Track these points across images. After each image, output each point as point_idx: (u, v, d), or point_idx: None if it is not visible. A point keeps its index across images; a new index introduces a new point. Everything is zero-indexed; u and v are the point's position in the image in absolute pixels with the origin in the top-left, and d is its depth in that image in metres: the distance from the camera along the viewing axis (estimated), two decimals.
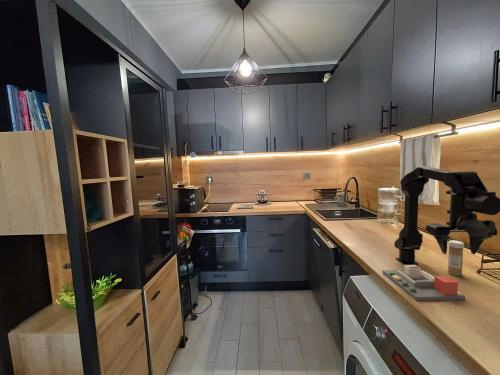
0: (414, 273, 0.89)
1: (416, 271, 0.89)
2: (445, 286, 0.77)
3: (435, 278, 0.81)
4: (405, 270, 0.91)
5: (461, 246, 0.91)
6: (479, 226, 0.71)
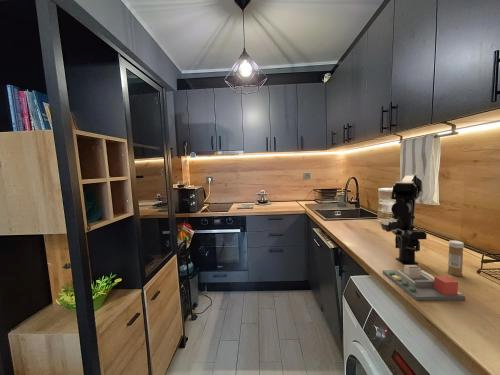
0: (414, 273, 0.89)
1: (416, 271, 0.89)
2: (445, 286, 0.77)
3: (435, 278, 0.81)
4: (405, 270, 0.91)
5: (461, 246, 0.91)
6: (384, 222, 0.95)
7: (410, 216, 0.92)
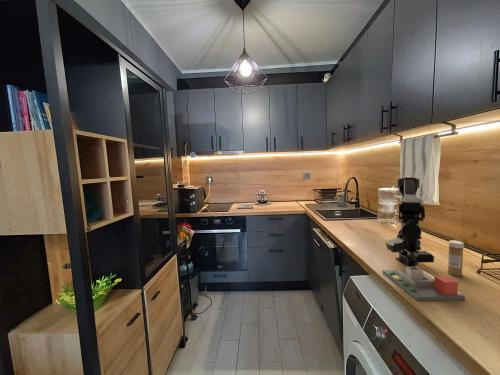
0: (416, 275, 0.88)
1: (418, 272, 0.88)
2: (445, 286, 0.77)
3: (435, 278, 0.81)
4: (407, 271, 0.90)
5: (461, 246, 0.91)
6: (389, 242, 0.92)
7: None
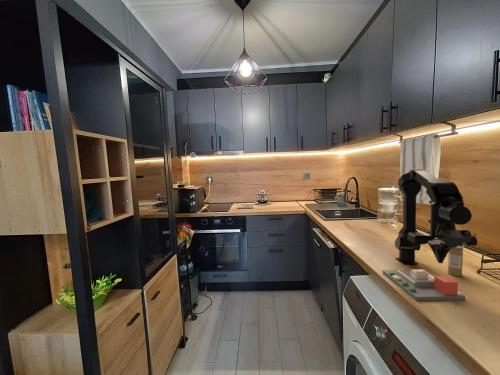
0: (422, 278, 0.85)
1: (423, 276, 0.85)
2: (445, 286, 0.77)
3: (435, 278, 0.81)
4: (412, 275, 0.87)
5: (461, 246, 0.91)
6: (454, 235, 0.72)
7: None
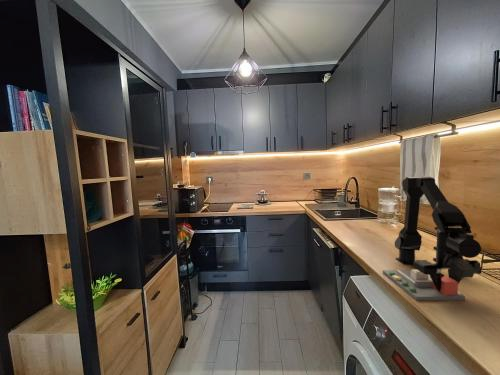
0: (422, 278, 0.85)
1: (423, 276, 0.85)
2: (445, 286, 0.77)
3: None
4: (412, 275, 0.87)
5: None
6: (465, 267, 0.71)
7: None
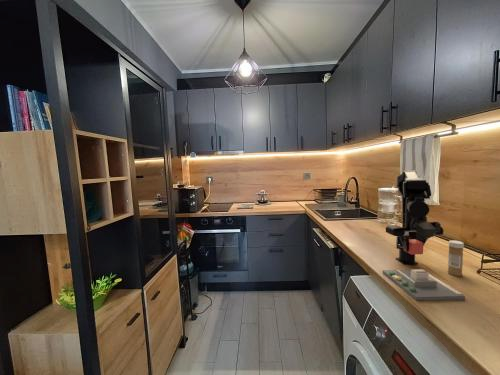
0: (422, 278, 0.85)
1: (423, 276, 0.85)
2: (412, 246, 0.87)
3: None
4: (412, 275, 0.87)
5: (461, 246, 0.91)
6: (427, 227, 0.81)
7: None
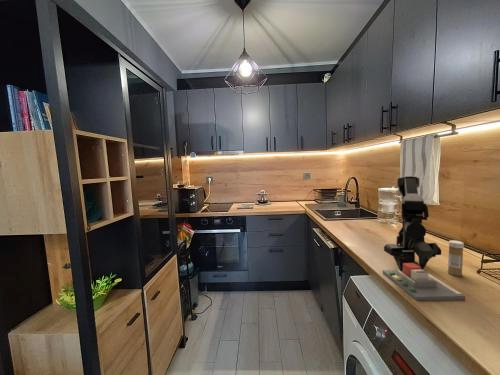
0: (422, 278, 0.85)
1: (423, 276, 0.85)
2: (410, 271, 0.89)
3: None
4: (412, 275, 0.87)
5: (461, 246, 0.91)
6: (425, 248, 0.83)
7: None
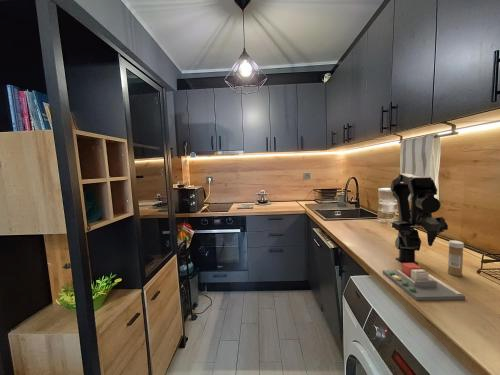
0: (422, 278, 0.85)
1: (423, 276, 0.85)
2: (410, 271, 0.89)
3: (402, 264, 0.92)
4: (412, 275, 0.87)
5: (461, 246, 0.91)
6: (432, 222, 0.85)
7: None
